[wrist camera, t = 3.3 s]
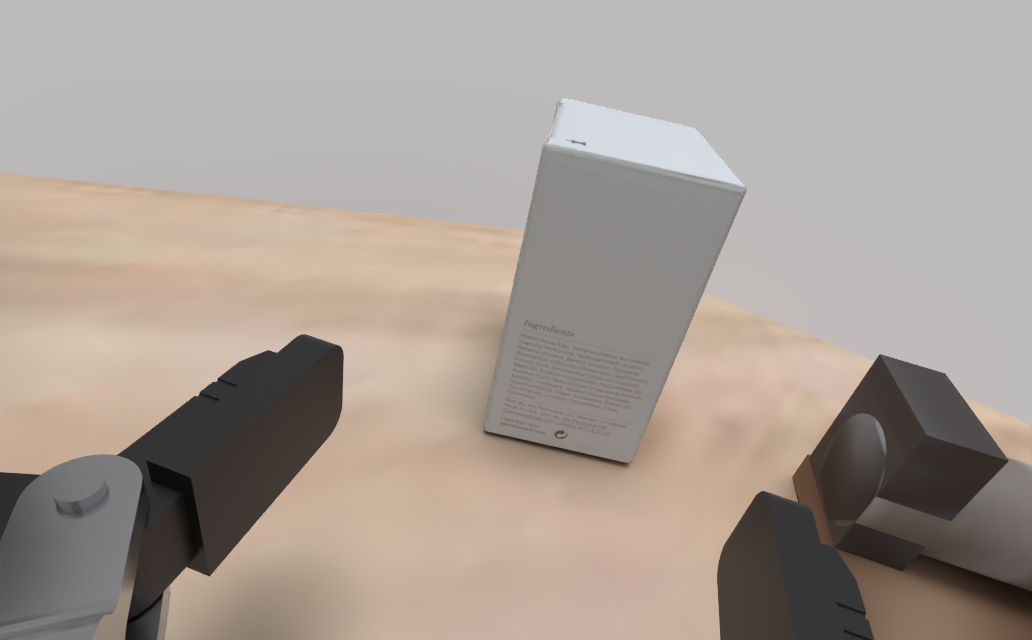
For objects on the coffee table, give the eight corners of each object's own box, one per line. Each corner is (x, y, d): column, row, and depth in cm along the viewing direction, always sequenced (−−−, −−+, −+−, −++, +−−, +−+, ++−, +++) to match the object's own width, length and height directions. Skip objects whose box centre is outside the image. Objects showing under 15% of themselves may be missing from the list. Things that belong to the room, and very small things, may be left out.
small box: (630, 470, 19) (755, 189, 14) (478, 434, 19) (542, 139, 14) (621, 347, 26) (702, 126, 21) (509, 320, 26) (559, 93, 21)
